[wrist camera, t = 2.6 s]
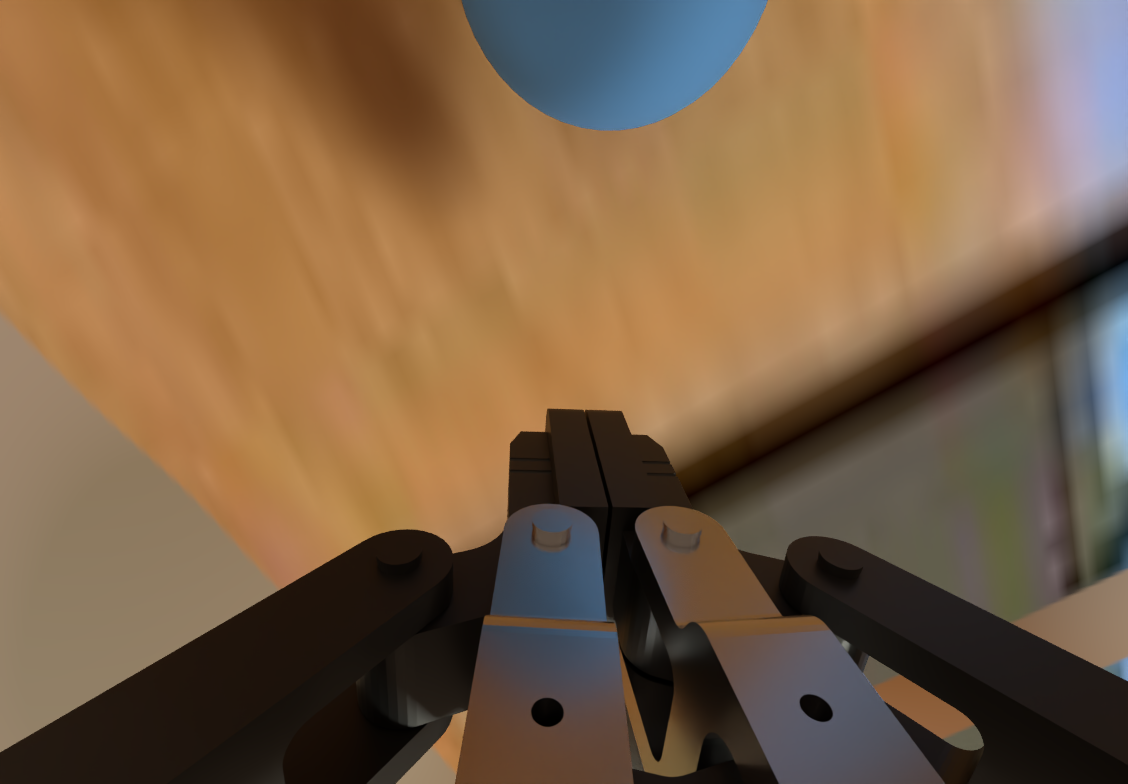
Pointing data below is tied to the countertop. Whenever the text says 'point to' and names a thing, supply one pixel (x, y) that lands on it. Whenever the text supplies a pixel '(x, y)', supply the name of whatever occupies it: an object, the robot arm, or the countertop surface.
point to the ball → (612, 53)
